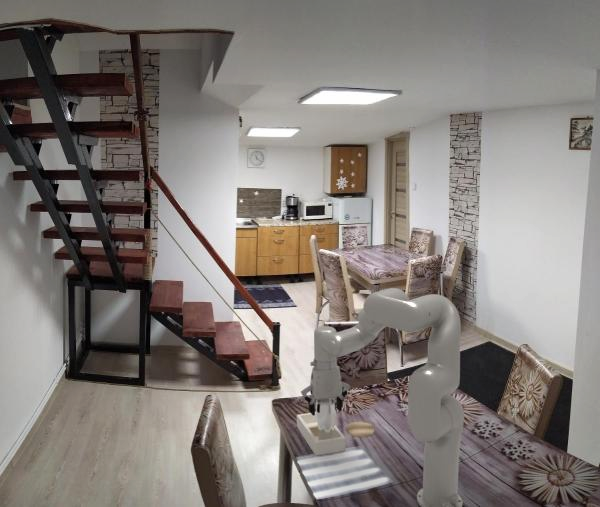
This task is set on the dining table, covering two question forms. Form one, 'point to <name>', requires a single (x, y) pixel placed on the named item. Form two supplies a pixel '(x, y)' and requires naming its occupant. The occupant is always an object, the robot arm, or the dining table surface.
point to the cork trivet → (360, 429)
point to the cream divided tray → (310, 434)
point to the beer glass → (325, 418)
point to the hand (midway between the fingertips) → (325, 411)
